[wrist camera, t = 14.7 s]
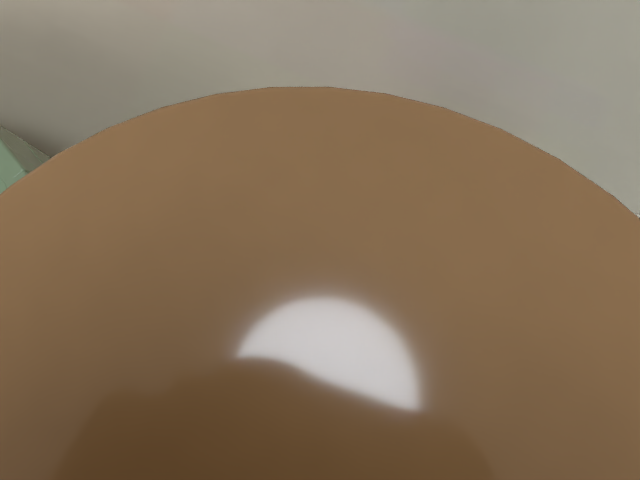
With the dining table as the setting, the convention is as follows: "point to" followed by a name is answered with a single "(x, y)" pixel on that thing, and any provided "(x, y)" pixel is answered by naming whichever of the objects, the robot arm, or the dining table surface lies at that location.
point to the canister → (316, 300)
